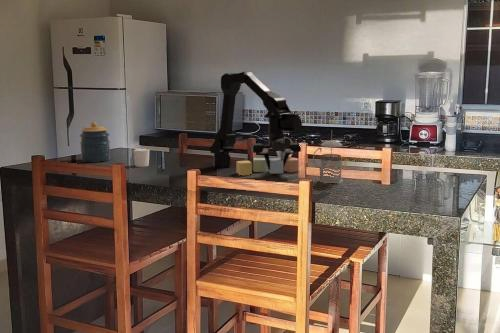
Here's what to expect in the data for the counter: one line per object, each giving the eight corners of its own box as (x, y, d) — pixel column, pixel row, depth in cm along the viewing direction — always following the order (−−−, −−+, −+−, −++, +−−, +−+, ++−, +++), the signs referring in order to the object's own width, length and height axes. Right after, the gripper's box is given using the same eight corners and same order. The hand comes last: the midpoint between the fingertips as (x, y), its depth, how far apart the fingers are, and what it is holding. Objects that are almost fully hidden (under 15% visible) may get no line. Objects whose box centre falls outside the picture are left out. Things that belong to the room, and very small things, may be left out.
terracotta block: (288, 172, 225) (289, 160, 224) (283, 170, 230) (283, 158, 229) (299, 171, 227) (299, 159, 226) (294, 169, 231) (294, 157, 231)
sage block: (253, 172, 227) (253, 160, 226) (253, 169, 232) (253, 157, 231) (265, 172, 226) (265, 160, 226) (265, 169, 231) (265, 157, 231)
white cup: (151, 164, 244) (151, 148, 243) (147, 167, 238) (147, 150, 236) (136, 164, 245) (136, 148, 244) (131, 166, 238) (131, 150, 237)
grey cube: (270, 173, 216) (270, 160, 215) (268, 171, 221) (268, 158, 220) (283, 173, 216) (283, 160, 215) (281, 170, 221) (281, 158, 220)
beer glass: (287, 171, 236) (287, 154, 222) (273, 163, 238) (272, 146, 224) (295, 158, 238) (296, 141, 225) (281, 150, 240) (282, 133, 227)
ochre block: (239, 175, 219) (239, 163, 218) (236, 173, 224) (236, 161, 223) (251, 175, 221) (251, 162, 220) (248, 172, 225) (248, 160, 225)
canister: (79, 159, 258) (76, 121, 254) (107, 157, 263) (105, 119, 260) (83, 163, 246) (81, 123, 243) (113, 161, 251) (111, 122, 248)
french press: (343, 184, 203) (345, 115, 199) (311, 183, 205) (312, 115, 201) (344, 178, 213) (346, 113, 208) (313, 177, 215) (315, 112, 210)
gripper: (254, 132, 207) (254, 174, 209) (304, 132, 209) (303, 172, 211) (251, 129, 217) (251, 168, 220) (298, 128, 219) (297, 167, 222)
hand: (275, 169), depth 218 cm, fingers closed on grey cube, 5 cm apart
